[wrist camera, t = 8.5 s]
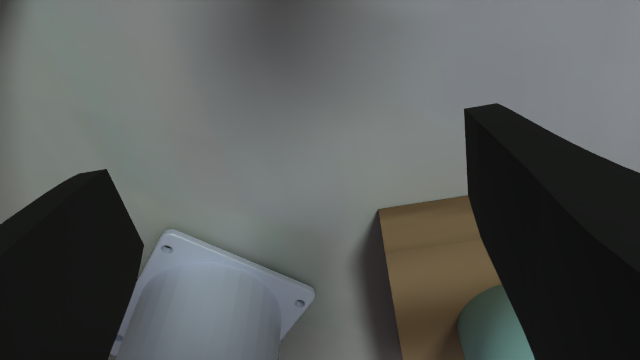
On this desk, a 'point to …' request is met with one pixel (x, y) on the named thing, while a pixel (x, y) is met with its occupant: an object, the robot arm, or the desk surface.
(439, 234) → the block
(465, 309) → the teal tapered rounded part
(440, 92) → the desk surface
